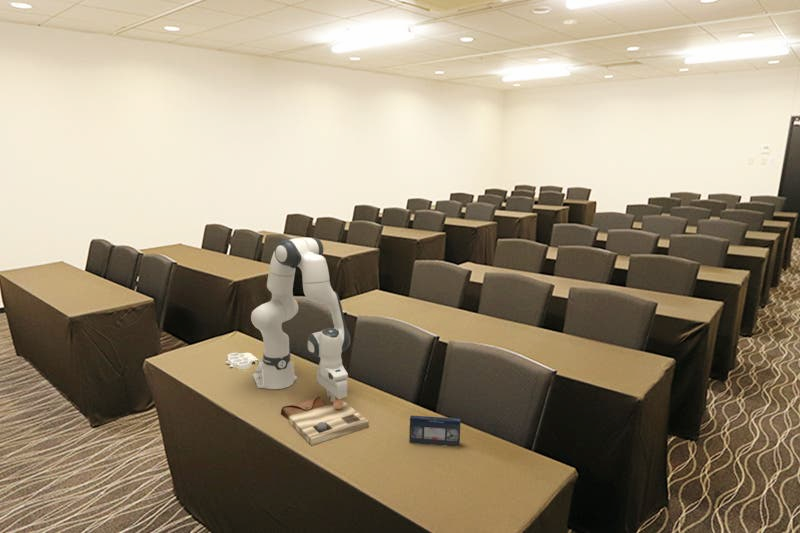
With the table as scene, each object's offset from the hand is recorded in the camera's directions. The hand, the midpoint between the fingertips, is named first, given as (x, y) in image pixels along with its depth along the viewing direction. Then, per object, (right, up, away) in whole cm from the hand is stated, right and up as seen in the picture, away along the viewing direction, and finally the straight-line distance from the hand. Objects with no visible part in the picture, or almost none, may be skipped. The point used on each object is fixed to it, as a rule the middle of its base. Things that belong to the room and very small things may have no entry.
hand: (331, 400), depth 212 cm
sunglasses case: (-10, -5, -2) cm, 11 cm away
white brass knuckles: (-51, +6, +45) cm, 68 cm away
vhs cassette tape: (+41, -10, -24) cm, 48 cm away
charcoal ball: (-1, -5, -19) cm, 20 cm away
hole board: (0, -6, -12) cm, 13 cm away
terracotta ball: (+3, 0, -5) cm, 6 cm away
